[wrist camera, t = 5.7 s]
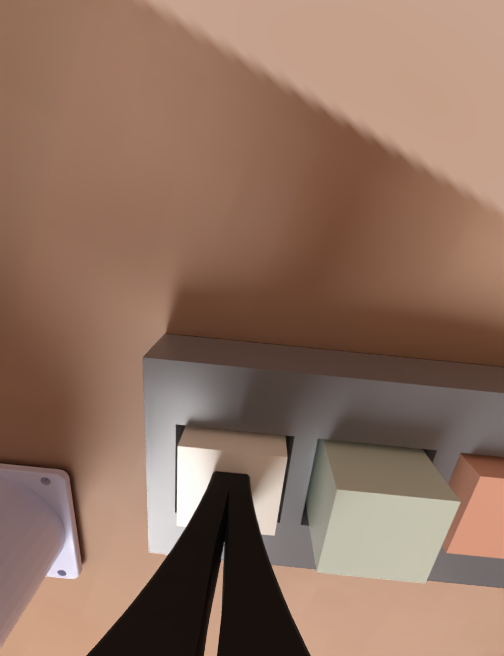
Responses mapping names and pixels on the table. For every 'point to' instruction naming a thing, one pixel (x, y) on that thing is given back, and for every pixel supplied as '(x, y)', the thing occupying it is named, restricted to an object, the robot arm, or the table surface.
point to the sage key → (377, 511)
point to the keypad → (315, 424)
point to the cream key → (231, 469)
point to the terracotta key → (477, 507)
